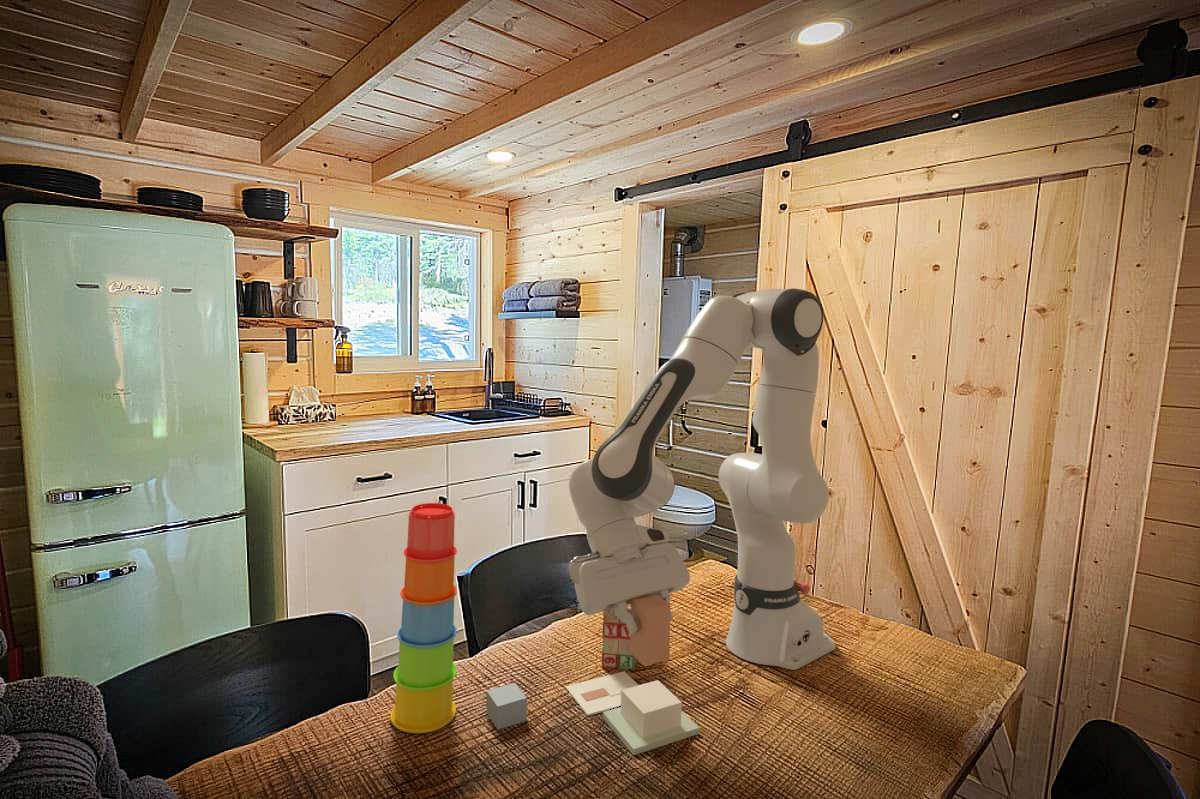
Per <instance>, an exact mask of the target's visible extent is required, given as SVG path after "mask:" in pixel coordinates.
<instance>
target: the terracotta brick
mask: <svg viewBox="0 0 1200 799" xmlns="http://www.w3.org/2000/svg"><path fill="white" fill-rule="evenodd" d="M670 611H671V603H670V604H669V603H668V602H666V601H665V600H663V599H662V598H661V597H659V596H658V595H656V594H651V595H646V596H642V597H637V598H632V599H631V615H632V616H633V617H634V618H636V617H638V618H639V620H640V623H641V625H642V629H641V630H640V631H638V632H635V633H631V638H630V653H631V654H632V655H633V656H634V657H636V660H638V661H639V662H640V663H641V665H643V666H644V667H647V666H651V665H654V664H657V663H662V662H664V661H668V660H670V653H671V652H670V651H671V650H670V648H671V647H670V642H671V640H670V639H671V633H670V632H671V621H670Z"/></svg>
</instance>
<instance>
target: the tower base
mask: <svg viewBox="0 0 1200 799" xmlns="http://www.w3.org/2000/svg"><path fill="white" fill-rule="evenodd" d="M682 706H683V702H682V701H681V700H680V699H679V698H678V697H677V696H675V694H673V693H672V691H670V689H668V688H667V687H666V686H665V685H664V684H663V683H661V681H660V680H658V679H656V680H653V681H650V682H646V683H642V684H638V686H634V687H630V688H627V689H623V690H621V707H618V708H614V709H611V710H607V711H604V712H602V719H603V720H604V722H605V723H606V724H607V725H608V726H609V728H610V729H611V730H612V732H613V733H615V735H616V736H617V738H619V740H620V741H621V742H622V744H623V745H624V746H625V747H626V749H628V751H629V752H630V753H631V755H632V756H636V755H639V754H641V753H644V752H648V751H651V750H654V749H657V748H660V747H663V746H666V745H670V744H672V743H675V742H678V741H681V740H684V739H688V738H690V737H694V736H696V735H699V734H700V728H701V727H700V726H698V724H696V722H694V720H693V719H691V718H690V717H689V716H688V715H687V714H686V713H685V712H684V711H683V710H682Z"/></svg>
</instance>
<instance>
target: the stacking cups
mask: <svg viewBox="0 0 1200 799" xmlns="http://www.w3.org/2000/svg"><path fill="white" fill-rule="evenodd" d="M455 518H456V517H455V511H454V510H453V507H452V506H450V505H448V504H446V503H445V504H444V503H440V502H439V503H437V502H434V503H433V502H429V503H428V502H427V503H421V504H416V505H414V506H412V508H411V510H410V511H409V513H408V525H407V526H408V527H407V544H406V545H407V546H406V548H404V550H403V555H404V557H405V568H404V569H405V570H404V571H405V572H404V584H403V585H404V586H403V587H402V588H401V590H400V598H401V599H402V608H401V626H400V628H399V629H398V630H397V634H396V635H397V636H396V637H397V640H398V641H399V644H398V645H399V648H398V649H399V650H398V666H397V667H396V668H395V670H394V672H393V680H394V682H395V683H396V684H395V699H394V700H395V704H394V706H393V708H392V709H391V711H390V715H389V716H390V717H389V718H390V722H391V723H392V726H394V727H395V728H396V729H397V730H399V731H401V732H405V733H407V734H408V733H409V734H427V733H428V734H429V733H432V732H434V731H437V730H440V729H442V728H444V727H446V726H447V725H448V724H449V723H450V722H452V720H453V719H454V717H455V716H456V712H457V706H456V703H455V702H454V700H453V680H454V679H455V677H456V675H457V671H458V670H457V666H456V664H455V663H454V639H455V637H456V636H457V633H458V632H457V627H456V625H455V624H454V620H455V619H454V618H455V616H454V615H455V597H456V595H457V594H458V588H457V586H455V585H454V584H455V582H454V581H455V557H456V554H457V552H458V550H457V547H456V546H455Z"/></svg>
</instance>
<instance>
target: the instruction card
mask: <svg viewBox="0 0 1200 799" xmlns="http://www.w3.org/2000/svg"><path fill="white" fill-rule="evenodd" d="M638 685H639V684H638V683H637V682H636V681H635V680H634V679H633V678H632V677H631V676H630V675H629V674H628V672H626V671H625V670H624V671H619V672H617V673H613V674H608V675H604V676H600V677H597V678H593V679H589V680H585V681H581V682H577V683H573V684H569V685H566V686H565V689H567V690H568V691H569V692H568V691H567V690H566V691H567V692H568V694H571V695H572V696H571V695H570V696H571V698H572V699H573V700H574V699H575V700H574V701H575V702H576V704H577V705H578V704H579V705H578V706H579V707H580V709H581V710H582V711H583V712H584V714H585V715H586V716H587V717H589V716H593V715H596V714H599V713H603V712H605V711H609V710H610V709H611V710H612V709H613V708H614V709H616V708H617V707H618V708H619V706H621V690H623V689H627V688H630V687H634V686H638Z"/></svg>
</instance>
